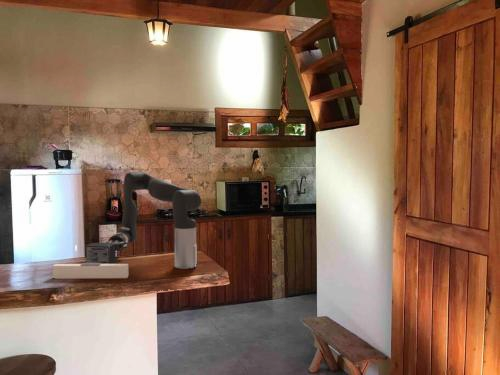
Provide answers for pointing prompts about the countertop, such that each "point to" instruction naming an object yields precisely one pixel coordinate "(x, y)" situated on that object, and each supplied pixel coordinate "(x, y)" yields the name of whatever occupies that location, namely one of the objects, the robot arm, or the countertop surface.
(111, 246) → the small box
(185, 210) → the robot arm
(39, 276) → the countertop surface
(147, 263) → the countertop surface
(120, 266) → the board
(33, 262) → the countertop surface
